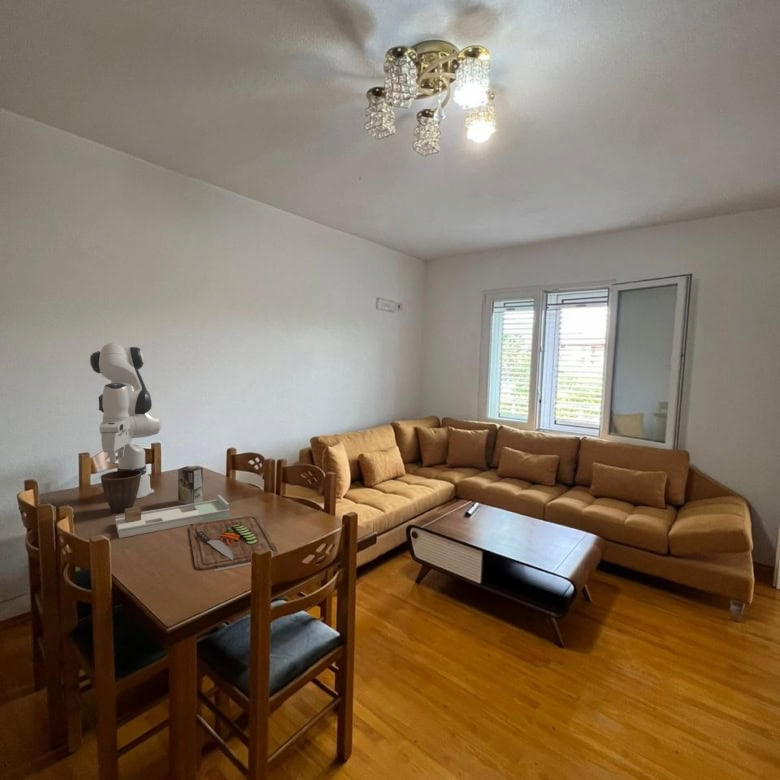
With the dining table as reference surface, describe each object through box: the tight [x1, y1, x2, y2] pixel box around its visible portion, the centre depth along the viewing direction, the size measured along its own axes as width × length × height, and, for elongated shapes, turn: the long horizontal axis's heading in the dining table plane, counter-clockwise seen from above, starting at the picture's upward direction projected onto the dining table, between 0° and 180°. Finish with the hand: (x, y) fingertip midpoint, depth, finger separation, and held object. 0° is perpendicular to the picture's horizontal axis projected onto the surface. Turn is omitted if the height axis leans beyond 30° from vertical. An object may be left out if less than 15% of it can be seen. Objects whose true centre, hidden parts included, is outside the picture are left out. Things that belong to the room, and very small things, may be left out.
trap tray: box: [115, 494, 231, 539], centre depth 173 cm, size 16×40×5 cm, turn 128°
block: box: [124, 506, 142, 523], centre depth 167 cm, size 5×5×4 cm
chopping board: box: [188, 515, 279, 573], centre depth 157 cm, size 45×27×3 cm, turn 29°
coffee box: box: [177, 466, 204, 505], centre depth 196 cm, size 9×6×16 cm
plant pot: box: [100, 470, 141, 514], centre depth 182 cm, size 15×15×16 cm
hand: (116, 459), depth 165 cm, fingers open, 8 cm apart
